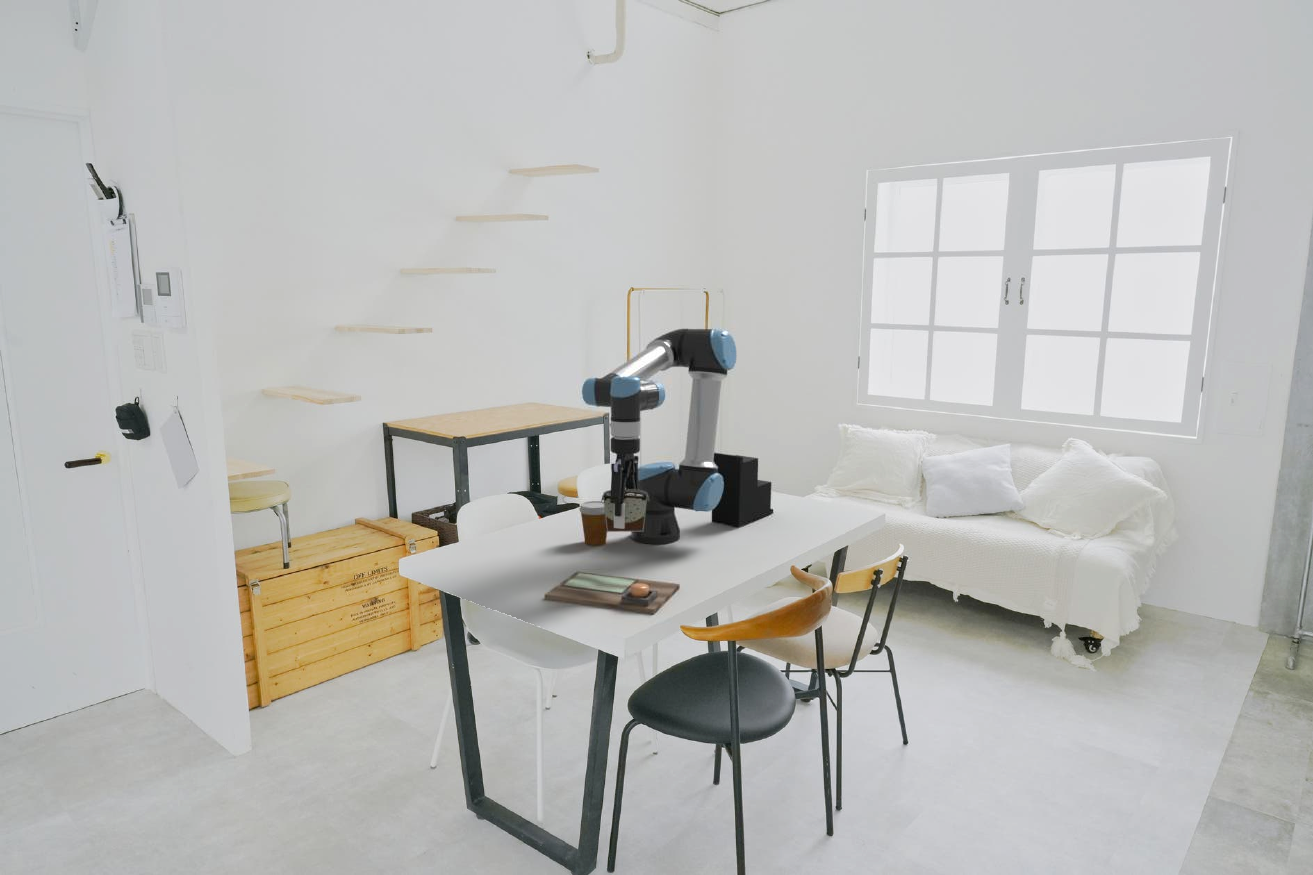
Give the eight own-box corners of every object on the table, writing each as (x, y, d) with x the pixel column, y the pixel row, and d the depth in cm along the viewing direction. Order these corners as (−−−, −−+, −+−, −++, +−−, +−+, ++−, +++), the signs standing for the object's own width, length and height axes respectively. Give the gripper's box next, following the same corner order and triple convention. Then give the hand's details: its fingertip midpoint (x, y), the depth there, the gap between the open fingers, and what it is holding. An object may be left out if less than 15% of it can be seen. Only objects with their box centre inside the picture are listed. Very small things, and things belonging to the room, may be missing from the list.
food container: (648, 525, 231) (648, 488, 229) (649, 531, 225) (649, 493, 223) (601, 525, 230) (601, 488, 229) (601, 531, 224) (601, 493, 223)
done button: (634, 590, 216) (634, 582, 215) (651, 592, 214) (651, 584, 214) (627, 596, 212) (627, 588, 211) (644, 598, 210) (644, 590, 210)
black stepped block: (746, 509, 306) (748, 442, 302) (774, 513, 300) (776, 446, 296) (710, 523, 287) (711, 453, 283) (739, 528, 281) (740, 456, 277)
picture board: (576, 575, 235) (576, 565, 234) (679, 588, 225) (679, 578, 225) (544, 599, 217) (544, 588, 217) (654, 614, 207) (654, 602, 207)
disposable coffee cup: (579, 538, 269) (579, 500, 267) (610, 538, 270) (610, 500, 267) (579, 547, 259) (579, 508, 257) (611, 547, 260) (611, 508, 258)
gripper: (625, 430, 234) (624, 514, 238) (596, 441, 215) (596, 532, 219) (652, 432, 232) (651, 516, 235) (625, 443, 213) (624, 535, 216)
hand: (624, 524), depth 227 cm, fingers closed on food container, 7 cm apart
